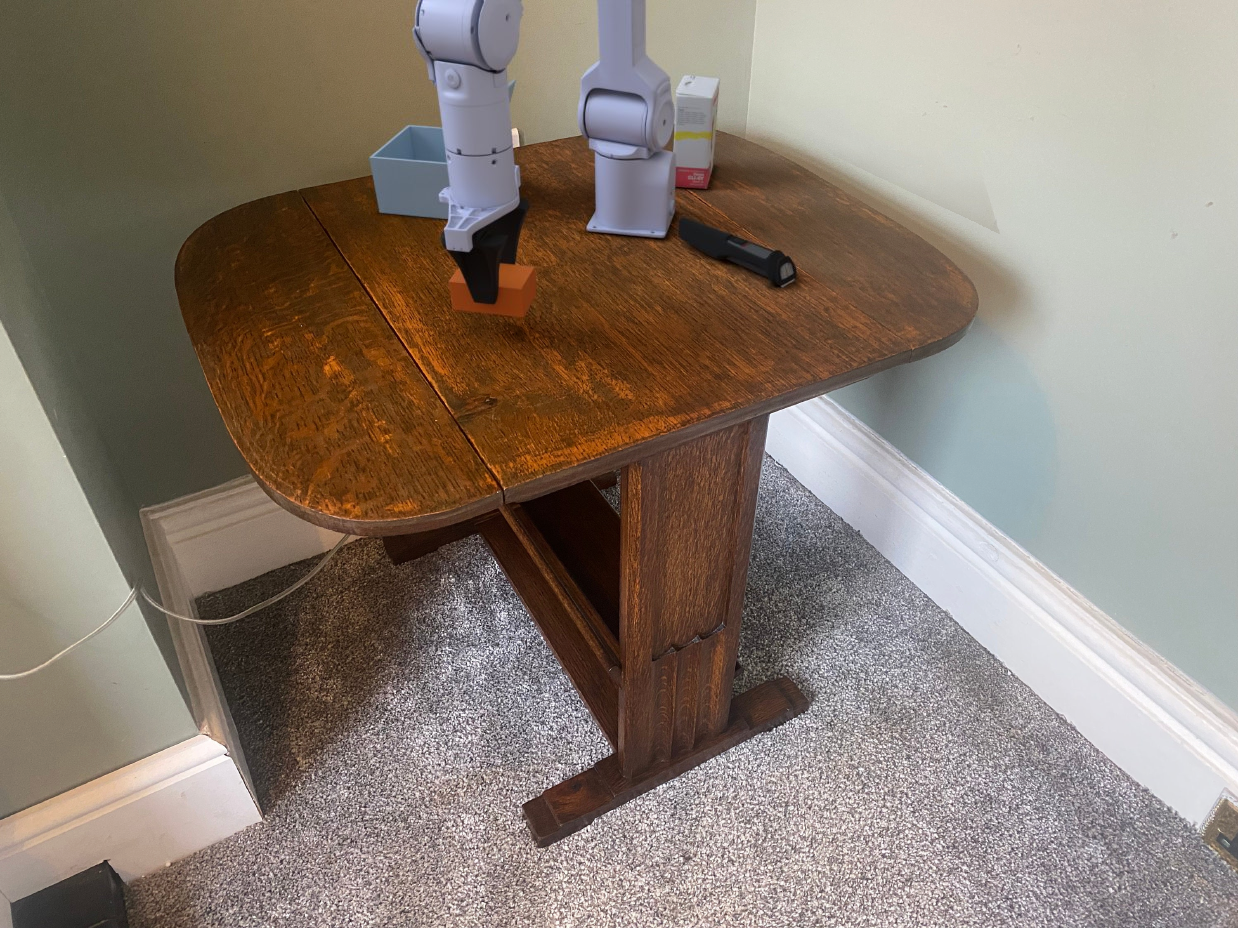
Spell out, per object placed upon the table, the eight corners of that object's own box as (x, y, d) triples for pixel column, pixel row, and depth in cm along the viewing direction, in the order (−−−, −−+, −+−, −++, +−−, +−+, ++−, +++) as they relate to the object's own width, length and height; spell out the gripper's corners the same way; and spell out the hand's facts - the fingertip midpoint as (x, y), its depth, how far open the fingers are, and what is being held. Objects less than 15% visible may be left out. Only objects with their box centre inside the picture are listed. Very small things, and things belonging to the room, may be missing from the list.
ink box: (707, 190, 111) (714, 96, 103) (670, 187, 112) (674, 93, 104) (714, 166, 117) (721, 76, 110) (679, 164, 118) (683, 74, 111)
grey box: (507, 185, 112) (502, 132, 108) (477, 222, 103) (471, 166, 99) (416, 177, 114) (408, 125, 110) (379, 212, 105) (369, 157, 101)
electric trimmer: (691, 236, 101) (692, 210, 99) (798, 278, 92) (802, 251, 90) (670, 246, 99) (671, 220, 97) (777, 290, 90) (781, 263, 88)
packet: (536, 294, 83) (535, 266, 81) (523, 317, 79) (521, 289, 77) (468, 287, 84) (465, 259, 82) (452, 309, 80) (448, 281, 78)
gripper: (463, 113, 78) (479, 250, 87) (400, 172, 67) (425, 322, 76) (537, 119, 77) (545, 257, 85) (485, 180, 66) (500, 331, 75)
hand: (494, 288), depth 80 cm, fingers closed on packet, 4 cm apart
